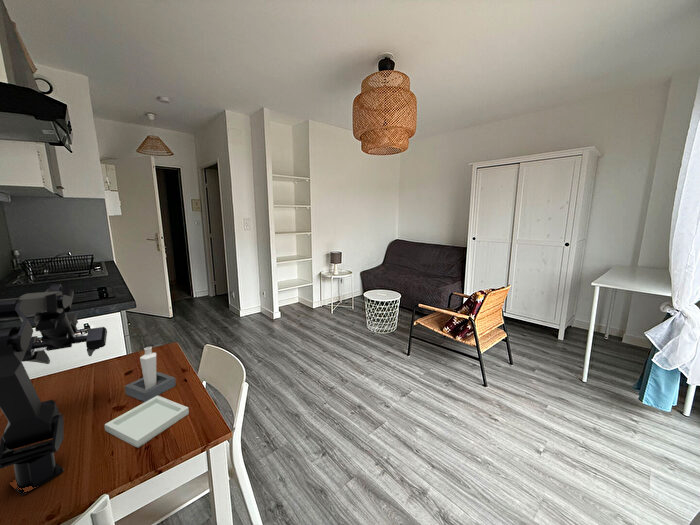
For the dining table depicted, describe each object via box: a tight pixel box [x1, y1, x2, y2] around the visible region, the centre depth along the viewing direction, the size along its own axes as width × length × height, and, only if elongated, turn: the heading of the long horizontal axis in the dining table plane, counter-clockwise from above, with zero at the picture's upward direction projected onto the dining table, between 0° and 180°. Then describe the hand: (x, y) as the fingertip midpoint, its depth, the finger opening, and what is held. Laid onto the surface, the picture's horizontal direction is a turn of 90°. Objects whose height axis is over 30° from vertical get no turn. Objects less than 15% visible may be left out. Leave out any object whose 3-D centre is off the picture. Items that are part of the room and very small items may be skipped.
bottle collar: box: [124, 370, 176, 403], centre depth 93 cm, size 10×10×3 cm
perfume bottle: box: [139, 346, 158, 390], centre depth 93 cm, size 5×4×15 cm
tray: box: [104, 395, 190, 449], centre depth 79 cm, size 14×14×2 cm
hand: (70, 358), depth 84 cm, fingers open, 9 cm apart
